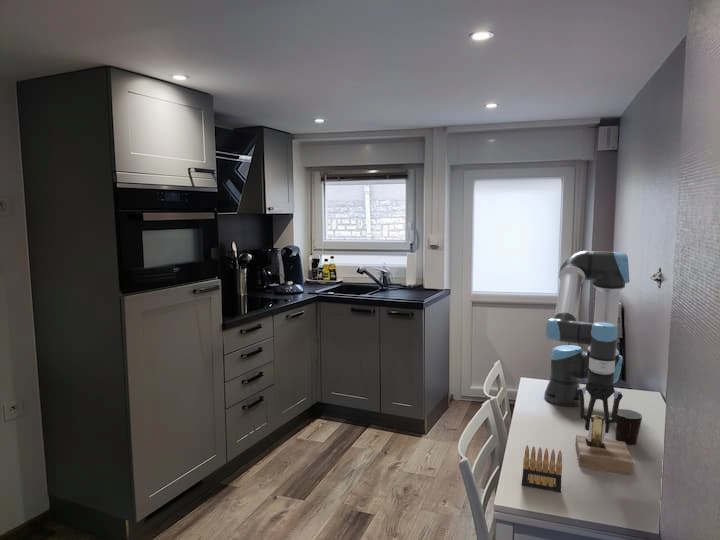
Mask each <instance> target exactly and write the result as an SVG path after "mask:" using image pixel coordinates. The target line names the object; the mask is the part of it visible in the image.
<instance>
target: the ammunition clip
mask: <svg viewBox="0 0 720 540" xmlns="http://www.w3.org/2000/svg"><path fill="white" fill-rule="evenodd" d="M529 448H530V447H529V445H528V444H526V446H525V450H524V456H523V463H522V475H521V486H523V487H527V488H534V489H539V490H543V491H544V490H545V491H551V492H555V493H560V494H561V493H562V478H563V477H562V473H563V455H562V451H561V450H559V451H558V453H557V459H556V452H555V449H554V448H553V449H552V450H551V454H550V457H549V449H548V448H547V447H546V448H545V451H544V454H543V451H542V447H541V446H540V447H539V448H538V450H537V452H536V447H535V446H534V445H533V446H532V449H531V453H530V449H529ZM536 453H537V456H536Z"/></svg>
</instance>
